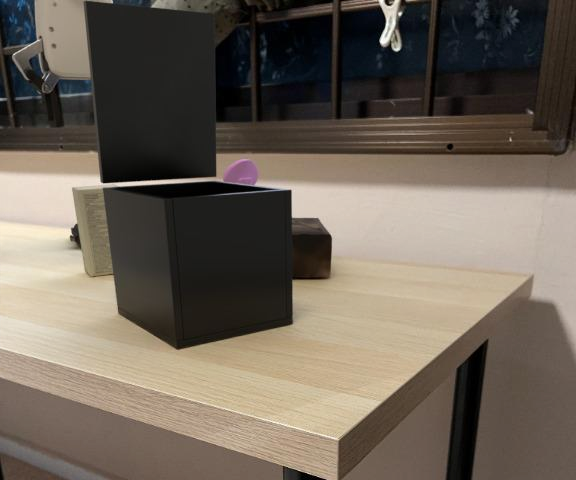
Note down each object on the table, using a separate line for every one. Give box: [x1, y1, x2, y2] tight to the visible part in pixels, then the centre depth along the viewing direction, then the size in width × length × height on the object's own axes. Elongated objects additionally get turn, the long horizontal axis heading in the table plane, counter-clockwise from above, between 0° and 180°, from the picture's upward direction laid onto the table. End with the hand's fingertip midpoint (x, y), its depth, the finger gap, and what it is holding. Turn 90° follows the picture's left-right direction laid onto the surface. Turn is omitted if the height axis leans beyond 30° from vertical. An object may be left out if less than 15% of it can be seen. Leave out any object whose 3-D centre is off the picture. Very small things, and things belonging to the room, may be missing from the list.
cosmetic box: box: [71, 183, 120, 277], centre depth 88 cm, size 6×4×12 cm
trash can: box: [103, 180, 294, 350], centre depth 65 cm, size 16×14×14 cm
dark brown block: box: [292, 217, 333, 279], centre depth 91 cm, size 8×19×7 cm, turn 2°
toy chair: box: [222, 158, 259, 185], centre depth 99 cm, size 8×9×15 cm
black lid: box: [83, 1, 217, 185], centre depth 66 cm, size 16×14×6 cm
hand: (92, 126), depth 82 cm, fingers open, 9 cm apart
